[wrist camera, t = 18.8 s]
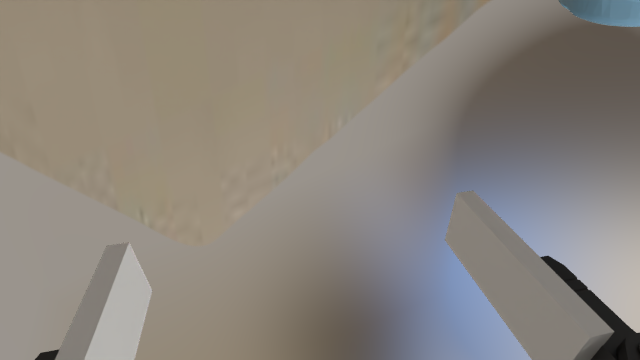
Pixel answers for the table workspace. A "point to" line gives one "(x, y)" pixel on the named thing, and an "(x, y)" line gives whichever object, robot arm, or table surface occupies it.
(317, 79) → the table surface
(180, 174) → the table surface
